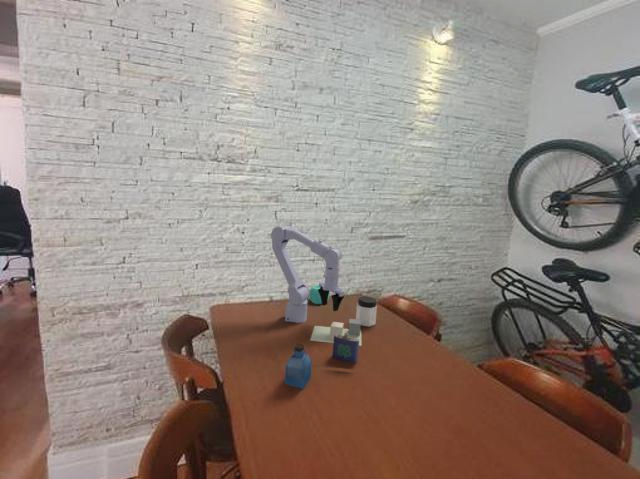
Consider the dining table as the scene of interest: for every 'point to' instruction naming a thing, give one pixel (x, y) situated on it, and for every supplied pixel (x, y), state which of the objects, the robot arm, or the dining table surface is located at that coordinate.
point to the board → (324, 335)
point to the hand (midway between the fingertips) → (329, 307)
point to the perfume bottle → (298, 367)
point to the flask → (345, 348)
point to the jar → (366, 310)
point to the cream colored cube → (336, 329)
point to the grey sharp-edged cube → (354, 327)
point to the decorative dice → (316, 295)
